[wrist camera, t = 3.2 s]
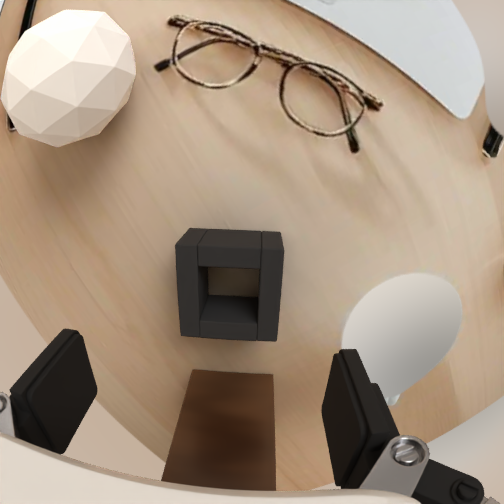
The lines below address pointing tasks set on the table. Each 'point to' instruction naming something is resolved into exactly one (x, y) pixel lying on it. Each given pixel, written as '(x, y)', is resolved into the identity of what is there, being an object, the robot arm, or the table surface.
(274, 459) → the stand
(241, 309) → the dark grey square frame
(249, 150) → the table surface
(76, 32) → the geometric ball
